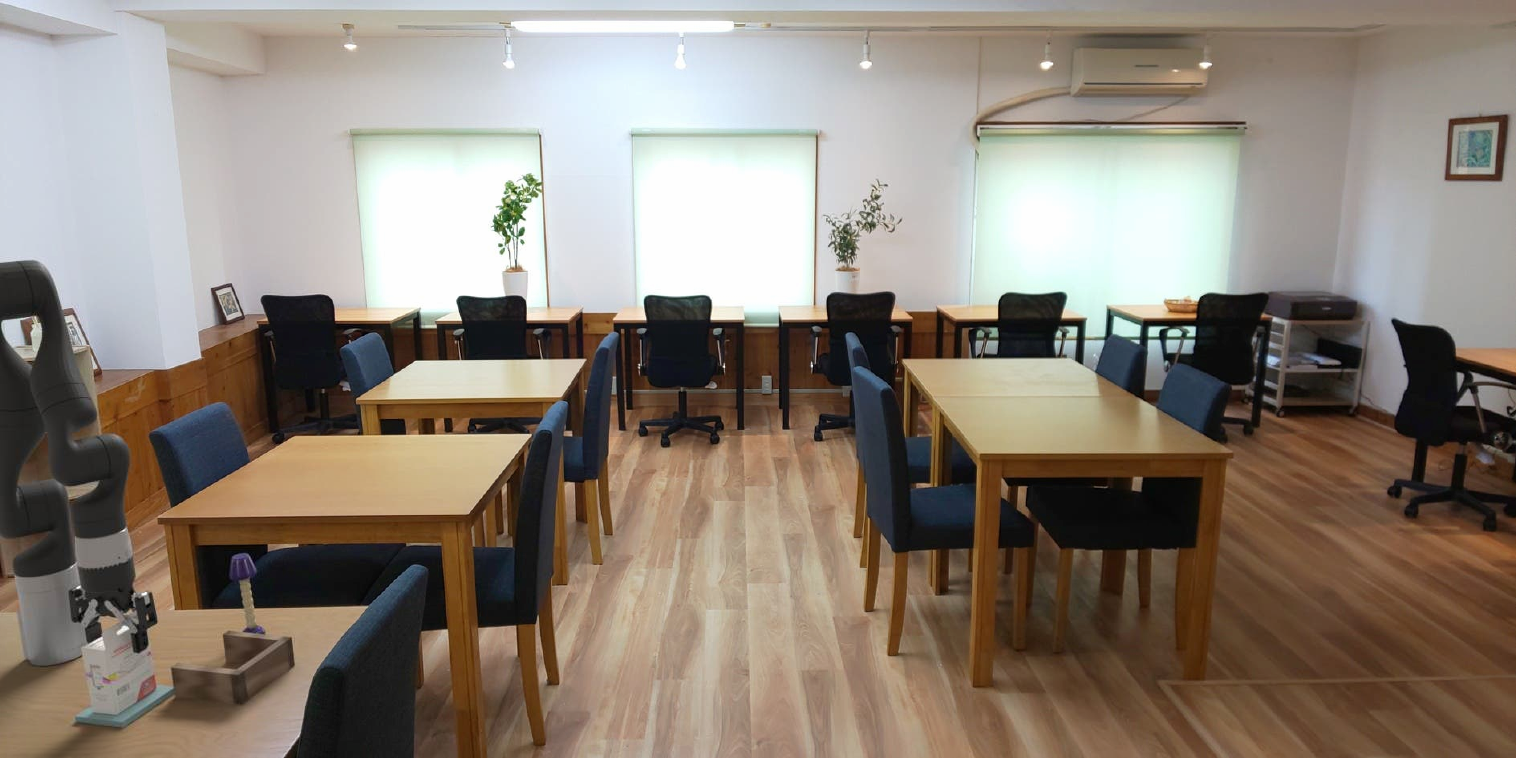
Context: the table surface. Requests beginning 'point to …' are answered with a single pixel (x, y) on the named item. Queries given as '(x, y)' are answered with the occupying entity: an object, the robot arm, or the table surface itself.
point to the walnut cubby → (260, 668)
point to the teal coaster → (130, 712)
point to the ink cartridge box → (117, 671)
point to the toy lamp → (245, 588)
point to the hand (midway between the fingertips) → (118, 648)
